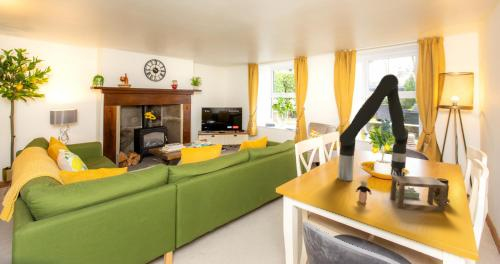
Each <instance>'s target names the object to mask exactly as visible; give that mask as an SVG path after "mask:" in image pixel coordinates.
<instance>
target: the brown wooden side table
mask: <svg viewBox="0 0 500 264" xmlns="http://www.w3.org/2000/svg"><path fill="white" fill-rule="evenodd" d="M437 179H438V178H436V177H431V176H429V177H428V176H411V175H410V176H408V175H407V176H406V175H404V176H393V175H391V185H390V186H391V187H390V197H389V198H390V201H393V202H395V201H396V197H395V196H396V188H397V183H398V184H399V195H398V197H397V199H398V200H397V208H398V209H399V210H412V211H424V212H425V211H427V212H436V211H437V212H438V213H445V206H446V204H445V198H446V189H447V185H445V184H444V183H442V182H440V181H439V180H437ZM408 186H411V187H414V188H415V187H419V188H428V189H427V190H428V191H427V203H428V204H429V205H428V204H417V203H404V199H405V197H404V190H405V189H406V188H405V187H408ZM434 188H440V194H439V203H438V202H437V203H438V204H437V205H430V204H434V201H433V197H434Z"/></svg>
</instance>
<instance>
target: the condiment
mask: <svg viewBox="0 0 500 264" xmlns="http://www.w3.org/2000/svg"><path fill="white" fill-rule="evenodd" d="M436 179H437V180H439V181H440V182H442V183H444V184H445V185H447V189H446V198H445V205H450V201H451V200H450V198H449V190H450V186H449V180H448V179H445V178H442V177H441V178H436ZM439 194H440V188H434V197H433V203H438V202H439ZM447 202H448V203H449V204H448V203H447Z"/></svg>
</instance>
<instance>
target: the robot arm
mask: <svg viewBox="0 0 500 264" xmlns="http://www.w3.org/2000/svg"><path fill="white" fill-rule="evenodd" d="M377 84H378V85H377V86H376V87H375V89H374V91H373V93H371V95H370V96H369V97H368V98H367V99H366V100H365V101H364V103H363V104H362V105H361V106H360V108H359V109H358V111H357V112H356V114H355V116H354V117H353V119H352V121H351V123H350V124H349V125H348V126H347V127H346V128H345V130H344V131H343V132H342V133H341V134H339V142H340V149H339V158H338V167H337V178H338V180H339V181H343V180H344V181H343V182H351V181H353V179H354V163H355V161H354V160H355V151H356V150H355V149H356V140H357V139H356V138H357V136H358V134H359V133H360V131H361V130H362V129H363V128H364V127H365V126H366V125H368V123H369V122H370V121H371V120H372V118H373V117H374V116H375V115H376V114H377V112H378V111H379V109H380V108H381V106H382V104H383V102H384V100H385V98H387V104H388V114H389V118H390V121H391V132H392V135H393V137H394V143H393V145H392V152H391V160H390V167H391V169H390V176H392V175H393V176H406V175H405V172H404V171H403V169H405V168H406V161H407V145H408V140H409V130H408V129H407V128H406V127H405V126H406V125H405V115H404V111H403V108H402V107H403V106H402V103H401V100H400V96H399V79H398V77H397V76H396V75H395V74H392V73H389V74H388V73H387V74H385V75H384V76H383V77H382V78H381V79H380V81H379V83H377ZM397 186H399V184H398V183H397V184H396V187H397Z"/></svg>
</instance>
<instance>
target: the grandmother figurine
mask: <svg viewBox="0 0 500 264" xmlns="http://www.w3.org/2000/svg"><path fill="white" fill-rule="evenodd" d="M368 184H369V183H368V181H367V180H366V179H361V180H360V186H358V187H357V188H356V189H355V193H358V192H359V193H358V200H357V201H356V203H358V204H363V205H367V198H368V194H369V195H372V190H371V188H369V187H367V185H368ZM367 192H368V193H367Z"/></svg>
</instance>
